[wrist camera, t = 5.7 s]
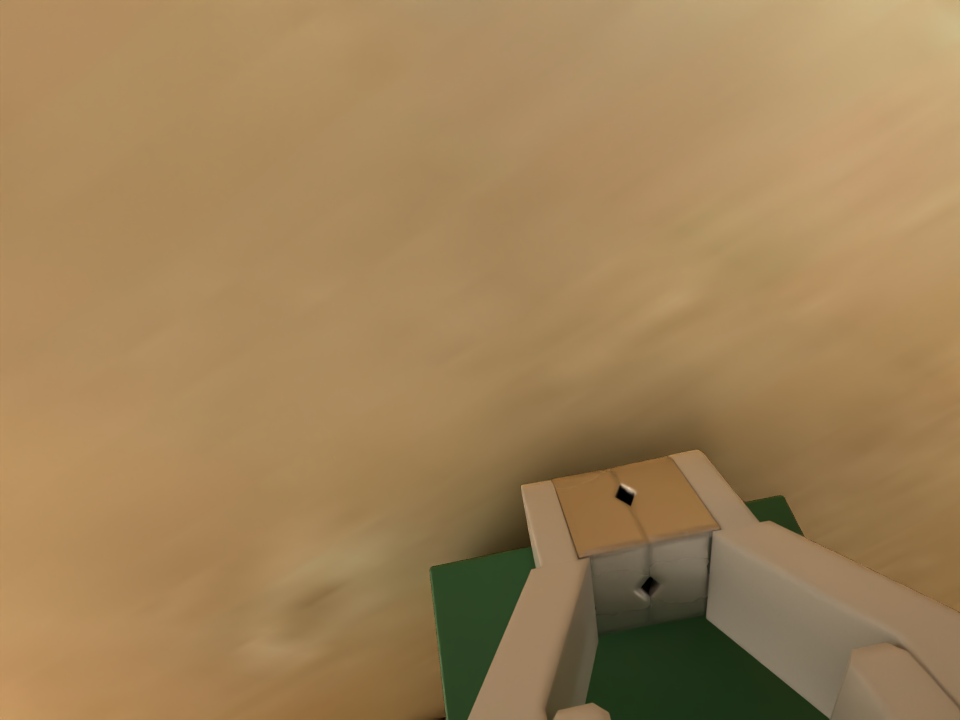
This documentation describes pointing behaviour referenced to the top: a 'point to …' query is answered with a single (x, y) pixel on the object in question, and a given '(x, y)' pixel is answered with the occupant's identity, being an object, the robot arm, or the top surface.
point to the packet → (612, 649)
